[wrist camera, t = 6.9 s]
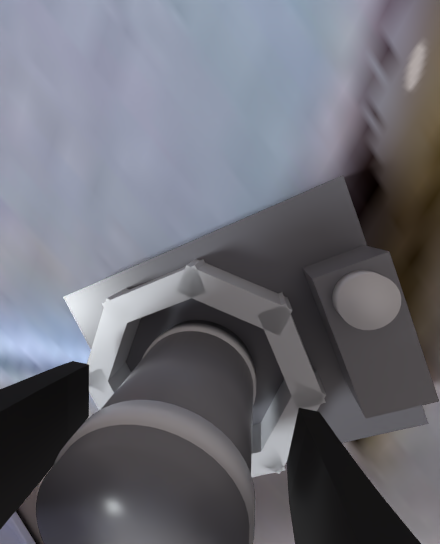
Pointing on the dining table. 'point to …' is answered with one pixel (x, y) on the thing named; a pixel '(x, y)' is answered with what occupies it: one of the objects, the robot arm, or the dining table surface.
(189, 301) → the grey base plate
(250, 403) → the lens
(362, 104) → the dining table surface
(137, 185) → the dining table surface
